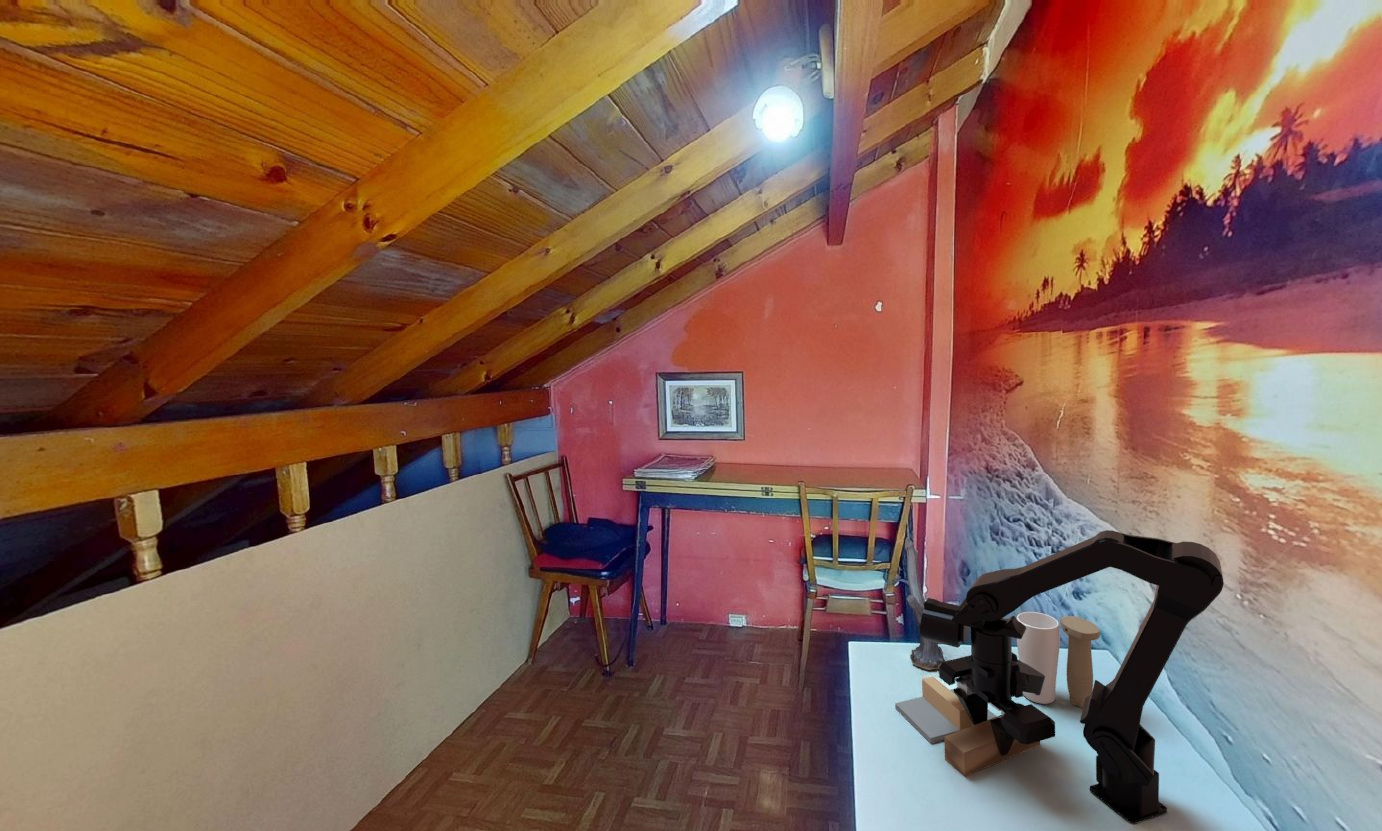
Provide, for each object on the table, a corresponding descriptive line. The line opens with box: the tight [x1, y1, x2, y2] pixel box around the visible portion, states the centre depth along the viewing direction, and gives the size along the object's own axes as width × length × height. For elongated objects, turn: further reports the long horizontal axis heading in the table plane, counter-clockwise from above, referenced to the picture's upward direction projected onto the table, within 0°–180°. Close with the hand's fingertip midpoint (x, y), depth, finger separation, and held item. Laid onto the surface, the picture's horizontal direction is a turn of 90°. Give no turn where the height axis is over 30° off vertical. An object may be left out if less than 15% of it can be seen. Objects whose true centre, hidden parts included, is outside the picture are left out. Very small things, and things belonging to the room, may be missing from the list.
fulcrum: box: [894, 675, 997, 745], centre depth 100 cm, size 10×14×4 cm
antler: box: [904, 536, 946, 671], centre depth 118 cm, size 12×8×25 cm
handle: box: [1059, 615, 1101, 709], centre depth 100 cm, size 5×6×15 cm
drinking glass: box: [1016, 611, 1061, 705], centre depth 103 cm, size 7×7×15 cm
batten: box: [943, 715, 1041, 777], centre depth 91 cm, size 4×16×4 cm, turn 110°
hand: (993, 745), depth 91 cm, fingers closed on batten, 4 cm apart
